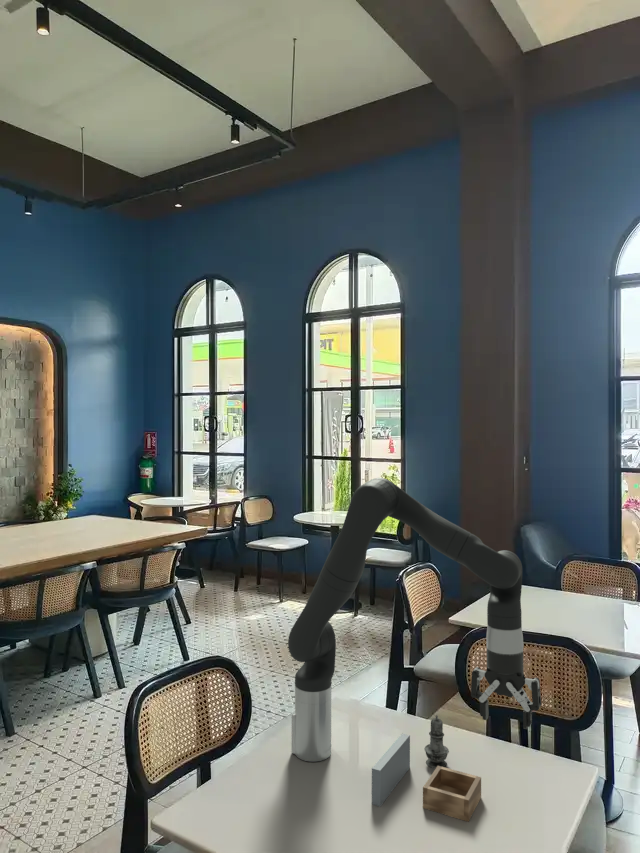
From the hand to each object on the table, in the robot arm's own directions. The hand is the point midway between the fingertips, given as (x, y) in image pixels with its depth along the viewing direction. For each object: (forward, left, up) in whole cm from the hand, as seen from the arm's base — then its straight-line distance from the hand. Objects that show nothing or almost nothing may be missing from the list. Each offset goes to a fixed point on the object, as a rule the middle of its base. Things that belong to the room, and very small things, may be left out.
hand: (505, 723), depth 137 cm
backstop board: (-25, -1, -20) cm, 32 cm away
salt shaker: (-19, +13, -20) cm, 30 cm away
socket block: (-11, -1, -19) cm, 22 cm away
